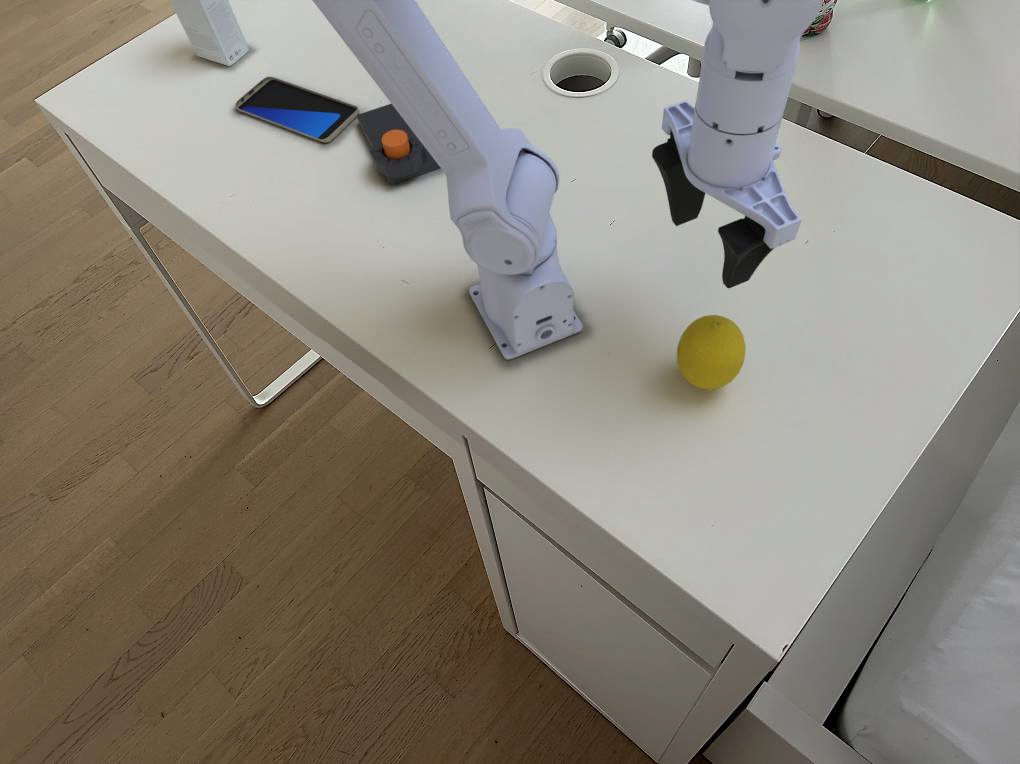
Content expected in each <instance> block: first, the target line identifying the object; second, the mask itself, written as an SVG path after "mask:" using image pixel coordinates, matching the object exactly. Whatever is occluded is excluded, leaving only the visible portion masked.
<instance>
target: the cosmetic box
mask: <svg viewBox="0 0 1020 764" xmlns="http://www.w3.org/2000/svg"><path fill="white" fill-rule="evenodd" d="M169 2H170V4H171V6H172V8H173V11H174V12H175V15H176V17H177V18H178V20H179V22H180V24H181V26H182V29H183V31H184V32H185V34H186V36H187V38H188V40H189V42H190V44H191V46H192V49H193V50H194V52H195V54H196V56H197V57H198V58H203V59H205V60H209V61H212V62H215V63H218V64H221V65H224V66H227V67H231V66H233V65H234V64H235V63H237V62H238V61H239V60H240V59H241V58H243V57H244V56H245V55H246V54H247V53H248V52H249V51H250V50H249V46H248V44H247V42H246V39H245V36H244V34H243V32H242V30H241V27H240V25H239V23H238V20H237V17H236V15H235V13H234V11H233V8H232V6H231V4H230V2H229V0H169Z"/></svg>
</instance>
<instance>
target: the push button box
mask: <svg viewBox="0 0 1020 764" xmlns="http://www.w3.org/2000/svg"><path fill="white" fill-rule="evenodd" d="M356 118H357V121H358V125H359V127H360V129H361V131H362V132H363V133H362V134H363V135H364V137H365V139H366V140H367V142H368V145H369V147H370V148H371V149H370V157H371V160H372V164H373V166H374V168H375V170H376V172H377V173H379V174H380V175H383V176H385V177H386V179H387V182H388V183H389V185H390V187H392V186H395V185H397V184H401V183H403V182H407V181H409V180H413V179H415V178H418V177H420V176H423V175H426V174H429V173H432V172H435V171H438V170H440V169H441V168H440V166H439V165H438V164H437V162H436V161H435V160H434V158H433V157H432V156H431V154H430V153H429V152H428V151H427V149H426V148H425V147H424V145H423V144H422V143H421V141H420V140H419V139H418V137H417V136H416V135H415V134H414V132H413V131H412V130H411V128H410V127H409V126H408V124H407V123H406V122H405V121H404V119H403V118H402V117H401V115H400V114H399V113H398V111H397V110H396V109H395V107H394V106H393V105H392V104H391V103H389V104H385V105H383V106H380V107H377V108H374V109H371V110H367V111H364V112H361V113H359V114H358V115H357V117H356ZM391 130H402V131H404V132H405V133H406V134H407V137H408V141H409V146H410V152H409V154H408V155H407V156H405V157H402V158H399V159H390V158H388V157H387V156H386V155H385V152H384V148H383V144H382V137H383V135H384V134H385V133H387V132H388V131H391ZM441 170H442V169H441Z"/></svg>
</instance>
